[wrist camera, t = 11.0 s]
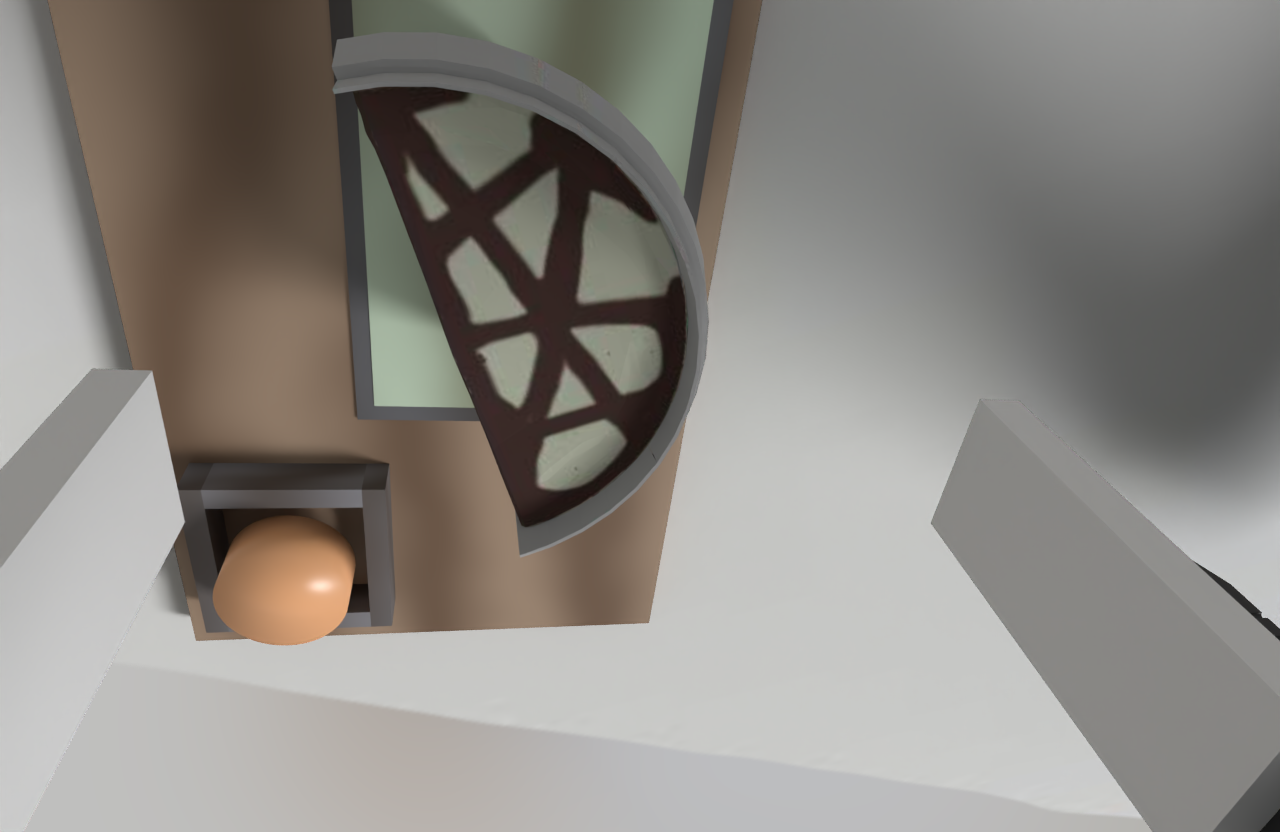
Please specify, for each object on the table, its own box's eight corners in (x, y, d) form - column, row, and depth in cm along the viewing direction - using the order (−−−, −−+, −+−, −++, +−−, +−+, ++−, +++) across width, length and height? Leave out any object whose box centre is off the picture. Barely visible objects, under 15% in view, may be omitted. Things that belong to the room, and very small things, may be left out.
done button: (351, 514, 29) (344, 552, 27) (358, 603, 31) (352, 642, 29) (219, 516, 28) (202, 554, 26) (236, 607, 30) (222, 648, 28)
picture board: (774, -138, 23) (808, -144, 20) (644, 604, 37) (655, 649, 35) (9, -271, 19) (-59, -297, 16) (204, 619, 33) (184, 672, 31)
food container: (678, 334, 29) (759, 508, 20) (512, 379, 28) (526, 573, 20) (599, -55, 22) (674, -35, 13) (380, 0, 22) (318, 56, 13)
